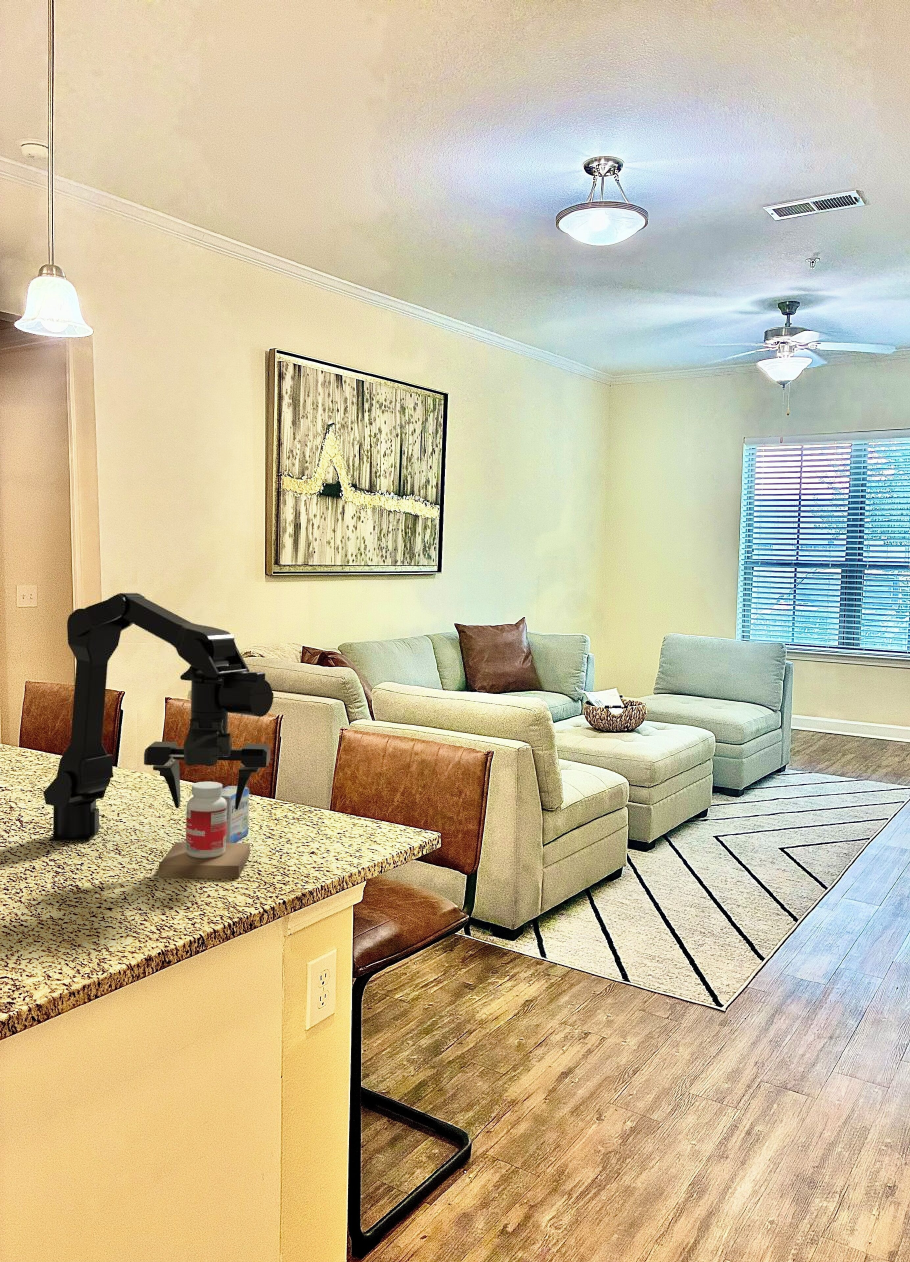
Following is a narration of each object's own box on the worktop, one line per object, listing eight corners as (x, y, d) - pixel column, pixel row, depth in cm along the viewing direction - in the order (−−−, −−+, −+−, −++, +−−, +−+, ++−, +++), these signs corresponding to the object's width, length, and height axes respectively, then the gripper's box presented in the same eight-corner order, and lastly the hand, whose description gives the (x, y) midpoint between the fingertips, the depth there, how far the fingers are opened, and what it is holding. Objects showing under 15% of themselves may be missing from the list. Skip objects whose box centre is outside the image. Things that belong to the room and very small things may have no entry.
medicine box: (229, 847, 161) (230, 796, 160) (205, 844, 162) (206, 794, 161) (248, 835, 169) (250, 786, 168) (225, 832, 170) (226, 784, 169)
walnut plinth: (158, 877, 144) (158, 864, 144) (175, 854, 156) (175, 842, 156) (238, 878, 145) (239, 865, 145) (249, 855, 157) (249, 843, 157)
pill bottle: (177, 853, 150) (179, 784, 149) (210, 845, 154) (211, 778, 154) (200, 862, 146) (202, 791, 145) (233, 854, 150) (235, 785, 150)
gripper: (135, 716, 140) (133, 820, 141) (263, 720, 141) (260, 823, 142) (153, 706, 151) (151, 802, 152) (271, 709, 153) (269, 804, 153)
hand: (207, 808), depth 150 cm, fingers open, 9 cm apart
